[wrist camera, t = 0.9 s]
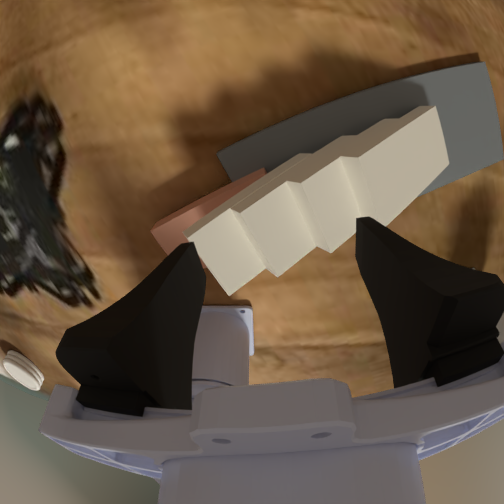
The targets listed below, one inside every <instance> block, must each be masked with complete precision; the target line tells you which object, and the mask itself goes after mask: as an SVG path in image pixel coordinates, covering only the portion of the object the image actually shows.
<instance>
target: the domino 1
mask: <svg viewBox="0 0 504 504" xmlns="http://www.w3.org/2000/svg"><path fill="white" fill-rule="evenodd" d="M310 155H312V154H310V153H299V154H297V155H296V156H294V157H293V158H291V159H289V160H288V161H286V162H285V163H283V164H281V165H280V166H278V167H277V168H275V169H274V170H272V171H271V172H269V173H267V174H266V175H264V176H263V177H261V178H260V179H258V180H257V181H255V182H254V183H252V184H251V185H249V186H248V187H246V188H245V189H243V190H242V191H240V192H239V193H237V194H236V195H234V196H233V197H231V198H230V199H228V200H227V201H225V202H224V203H223V204H221V205H220V206H218V207H217V208H215V209H214V210H212V211H211V212H210V213H208V214H207V215H205V216H204V217H202V218H201V219H200V220H198V221H197V222H195V223H194V224H193V225H191V226H190V227H188V228H187V229H186V230H184V231H183V234H184V235H185V237H186V238H187V239H188V241H189V242H193V241H194V244H195V247H196V250H197V253H198V255H199V256H200V258H201V259H202V261H203V262H204V263H205V265H206V266H207V268H208V269H209V270H210V272H211V273H212V274H213V276H214V277H215V279H216V280H217V281H218V283H219V284H220V285H221V287H222V288H223V289H224V291H225V292H226V293H227V294H228V296H230V295H231V294H233V293H234V292H235V291H237V290H238V289H239V288H241V287H242V286H243V285H245V284H246V283H247V282H249V281H250V280H251V279H253V278H254V277H255V276H256V275H258V274H259V273H260V272H262V271H263V270H264V269H266V267H265V266H264V264H263V262H262V261H261V259H260V257H259V256H258V254H257V252H256V251H255V249H254V247H253V246H252V244H251V242H250V241H249V239H248V237H247V236H246V234H245V232H244V231H243V229H242V227H241V226H240V224H239V222H238V221H237V219H236V217H235V216H234V214H233V212H232V211H231V209H230V208H232V207H233V206H235V205H236V204H238V203H239V202H241V201H242V200H243V199H245V198H246V197H248V196H249V195H251V194H252V193H254V192H255V191H257V190H258V189H260V188H261V187H263V186H264V185H266V184H267V183H269V182H270V181H272V180H273V179H275V178H276V177H278V176H279V175H281V174H282V173H284V172H285V171H287V170H288V169H290V168H291V167H293V166H294V165H296V164H298V163H299V162H301V161H302V160H304V159H305V158H307V157H308V156H310Z"/></svg>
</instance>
